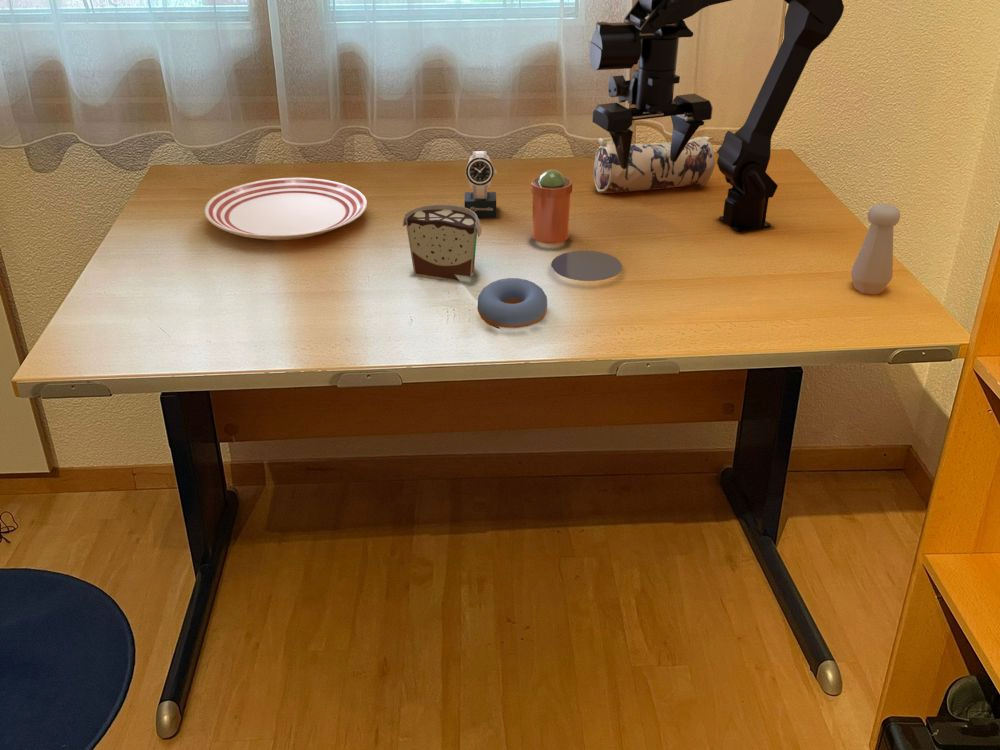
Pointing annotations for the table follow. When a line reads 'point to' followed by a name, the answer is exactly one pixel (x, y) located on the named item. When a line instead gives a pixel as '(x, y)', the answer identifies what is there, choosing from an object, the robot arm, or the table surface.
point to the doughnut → (512, 303)
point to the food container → (442, 240)
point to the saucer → (586, 265)
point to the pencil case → (653, 166)
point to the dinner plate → (285, 208)
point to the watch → (480, 185)
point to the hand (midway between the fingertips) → (648, 164)
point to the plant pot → (551, 207)
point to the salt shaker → (876, 251)
